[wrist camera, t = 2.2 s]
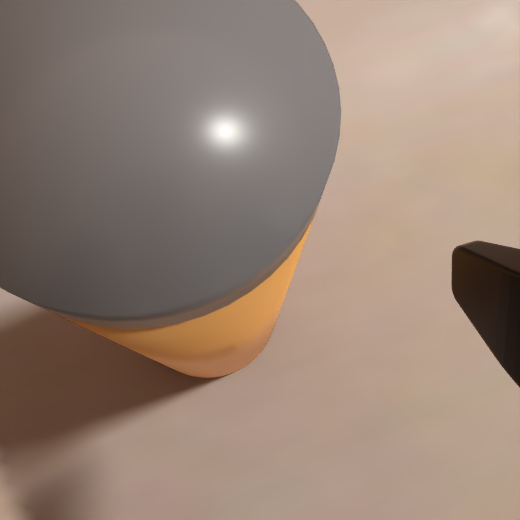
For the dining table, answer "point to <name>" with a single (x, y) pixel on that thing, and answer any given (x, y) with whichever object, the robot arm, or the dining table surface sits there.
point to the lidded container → (162, 167)
